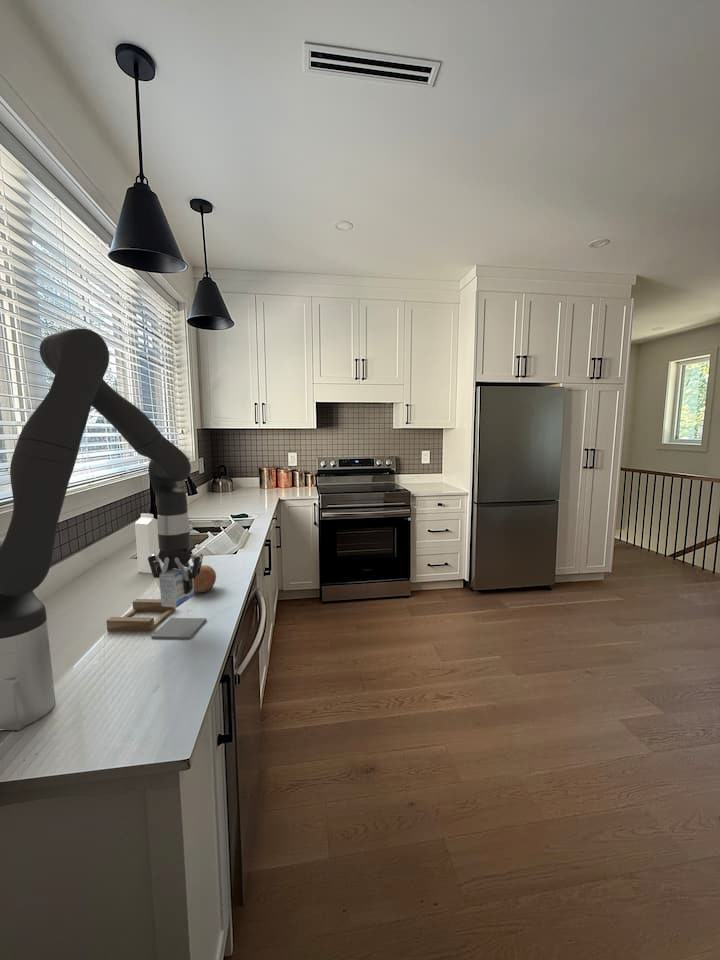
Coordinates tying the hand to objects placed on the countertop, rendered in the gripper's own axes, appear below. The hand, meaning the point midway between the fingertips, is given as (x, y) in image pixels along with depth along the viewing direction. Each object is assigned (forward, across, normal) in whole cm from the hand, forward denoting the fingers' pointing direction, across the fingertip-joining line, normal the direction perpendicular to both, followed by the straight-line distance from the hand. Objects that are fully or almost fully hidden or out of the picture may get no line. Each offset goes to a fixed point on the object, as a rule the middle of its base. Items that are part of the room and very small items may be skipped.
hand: (177, 592), depth 104 cm
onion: (+11, -5, +25) cm, 28 cm away
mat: (+10, 0, 0) cm, 10 cm away
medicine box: (+3, 0, 0) cm, 3 cm away
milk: (+11, -33, +44) cm, 56 cm away
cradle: (+10, -13, +5) cm, 17 cm away
